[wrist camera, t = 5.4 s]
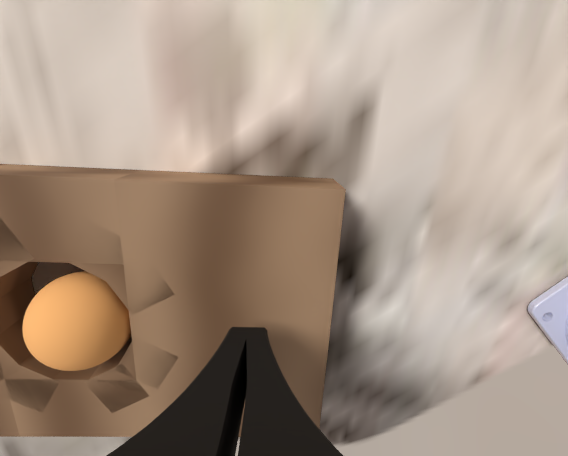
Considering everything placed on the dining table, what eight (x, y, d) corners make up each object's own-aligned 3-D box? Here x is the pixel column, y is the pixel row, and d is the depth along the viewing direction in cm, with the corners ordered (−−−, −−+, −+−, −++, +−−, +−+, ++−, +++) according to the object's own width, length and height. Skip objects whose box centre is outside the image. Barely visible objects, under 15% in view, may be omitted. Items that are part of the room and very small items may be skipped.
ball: (57, 288, 15) (145, 283, 16) (41, 378, 14) (140, 366, 15) (13, 259, 12) (129, 255, 13) (-15, 376, 10) (121, 360, 11)
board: (332, 178, 14) (345, 189, 12) (311, 394, 18) (318, 436, 15) (-50, 161, 13) (-121, 169, 11) (11, 392, 17) (-32, 436, 14)
